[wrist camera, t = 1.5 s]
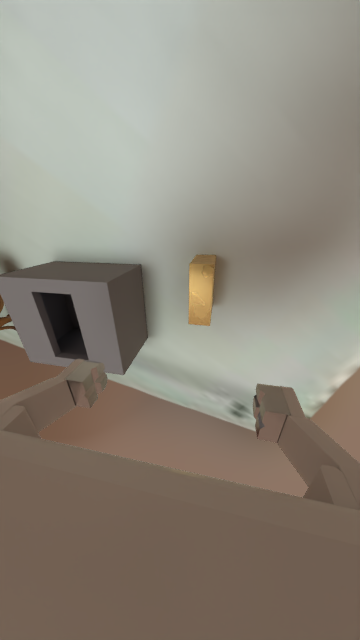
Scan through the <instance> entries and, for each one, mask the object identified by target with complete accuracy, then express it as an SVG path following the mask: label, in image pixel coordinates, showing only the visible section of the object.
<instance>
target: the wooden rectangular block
mask: <svg viewBox="0 0 360 640" xmlns="http://www.w3.org/2000/svg"><path fill="white" fill-rule="evenodd" d="M215 265H216V255H196V256H195V257H194V259H193V260H192V261H191V262H190V270H189V324H195V325H206V326H210V321H211V313H212V305H213V292H214V279H215Z"/></svg>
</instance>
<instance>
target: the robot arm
mask: <svg viewBox="0 0 360 640" xmlns="http://www.w3.org/2000/svg"><path fill="white" fill-rule="evenodd" d="M104 369H105V366H104V363H102V362H96V361H90V360H82V359H76V360H74V361H73V362H72V363H71V364H70V365H69V366H68V367H67V368H66V369H65V370H64V371H63V372H61V373H60V374H59V375H58V376H57V377H56V378H51V379H49V380H47V381H44V382H42V383H40V384H37V385H35V386H33V387H30V388H28V389H26V390H23V391H21V392H19V393H16V394H14V395H12V396H9V397H7V398H5V399H2V400H0V640H360V463H359V462H358V461H357V460H356V459H354V458H353V457H352V456H351V455H350V454H349V453H348V452H347V451H345V450H344V449H343V448H342V447H341V446H340V445H339V444H338V443H336V442H335V441H334V440H333V439H332V438H331V437H329V435H327V434H326V433H325V432H324V431H323V430H322V429H321V428H319V427H318V426H317V425H316V424H315V423H314V422H313V421H311V420H310V419H308V418H306V417H305V415H304V413H303V410H302V408H301V406H300V403H299V401H298V399H297V396H296V394H295V392H294V389H293V388H291V387H282V386H273V385H265V384H257V386H256V394H257V395H255V396H254V399H253V415H254V417H255V418H256V424H255V427H256V433H257V439H261V440H265V441H270V442H275V443H278V445H279V447H280V448H281V450H282V451H283V452H284V454H285V455H286V457H287V458H288V459H289V461H290V462H291V464H292V465H293V466H294V468H295V469H296V470H297V472H298V473H299V474H300V476H301V477H302V479H303V480H304V481H305V483H306V484H307V486H308V487H309V488H308V489H307V491H306V493H305V495H304V496H303V498H302V497H298V496H294V495H289V494H285V493H280V492H276V491H271V490H267V489H262V488H258V487H253V486H249V485H244V484H240V483H236V482H231V481H227V480H222V479H218V478H213V477H209V476H205V475H200V474H196V473H191V472H186V471H182V470H178V469H173V468H169V467H164V466H160V465H156V464H151V463H147V462H142V461H137V460H133V459H129V458H124V457H120V456H115V455H111V454H107V453H102V452H98V451H93V450H89V449H84V448H80V447H75V446H71V445H66V444H62V443H58V442H53V441H48V440H44V439H41V437H40V435H39V433H38V432H40V431H41V430H43V429H44V428H46V427H47V426H49V425H50V424H51V423H53V422H54V421H56V420H57V419H59V418H60V417H62V416H63V415H65V414H66V413H67V412H69V411H70V410H72V409H73V408H75V407H76V406H79V407H85V408H91V407H92V405H93V404H94V402H95V401H96V400H97V398H98V395H97V394H99V393H101V392H102V391H103V390H104V388H105V387H106V384H107V374H106V373H105V372H104Z"/></svg>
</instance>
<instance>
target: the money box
mask: <svg viewBox="0 0 360 640" xmlns="http://www.w3.org/2000/svg"><path fill="white" fill-rule="evenodd" d="M0 295H1V297H2V299H3V301H4V304H5V306H6V308H7V310H8V313H9V315H10V317H11V319H12V321H13V324H14V326H15V328H16V330H17V333H18V335H19V337H20V339H21V341H22V344H23V346H24V348H25V350H26V352H27V355H28V357H29V359H30V361H31V362H36V363H44V364H50V365H57V366H64V367H68V366H69V365H70V364H71V363H72V362H73V361H74V360H76V359H82V360H90V361H96V362H102V363H104V366H105V369H104V372H106V373H113V374H120V375H124V374H125V372H126V371H127V369H128V368H129V366H130V365H131V363H132V361H133V360H134V358H135V357H136V355H137V354H138V352H139V351H140V349H141V348H142V346H143V344H144V343H145V341H146V340H147V338H148V334H147V324H146V313H145V303H144V293H143V282H142V272H141V265H139V264H111V263H82V262H50V263H46V264H41V265H37V266H33V267H29V268H25V269H21V270H17V271H12V272H8V273H4V274H0Z"/></svg>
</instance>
